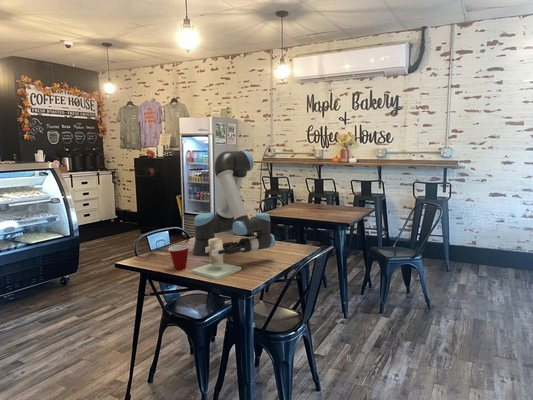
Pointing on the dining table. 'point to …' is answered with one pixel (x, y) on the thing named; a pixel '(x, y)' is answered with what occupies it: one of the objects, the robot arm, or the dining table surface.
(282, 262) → the dining table surface
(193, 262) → the dining table surface
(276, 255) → the dining table surface
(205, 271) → the board
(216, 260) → the birch roller
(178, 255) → the plastic cup
